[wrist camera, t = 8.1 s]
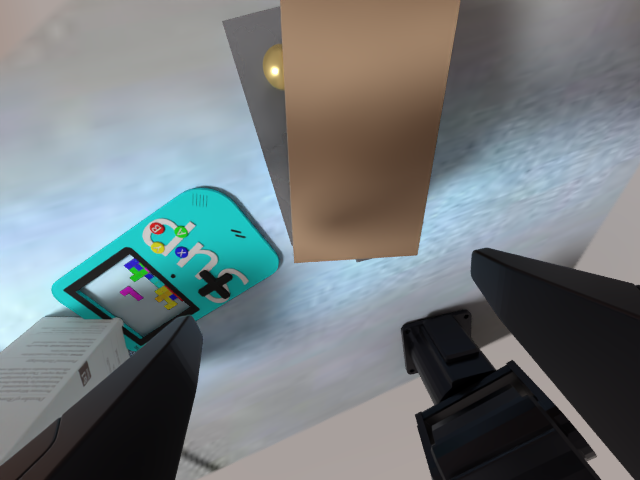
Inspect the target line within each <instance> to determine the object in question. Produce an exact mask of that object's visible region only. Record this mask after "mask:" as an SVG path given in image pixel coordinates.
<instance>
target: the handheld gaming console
mask: <svg viewBox="0 0 640 480" xmlns="http://www.w3.org/2000/svg"><path fill="white" fill-rule="evenodd" d="M129 254H130V255H131V256H133V257H134V259H132V260H131V261H129V262H128V263H127V264H125V265H124V266H125V267H126V268H127V269H128V270H129V271H130V272H132V273H133V274H134V275H133V276H131V277H130V279H131V280H133V281H134V282H136V281H137V280H139V279H140V278H142V277H143V276H145V277H146V278H147V279H148V280H149V281H151V282H152V283H153V284H154V285H155V286H156V287H158V288H159V289H158V290H156V291H155V293H156V294H158V295H159V296H158V297H156V298H155V300H157V301H158V302H161V301H162V300H165V301H166V302H167V303H168V304H166V305H165V306H164V307H165V308H166V309H168V310H169V309H171V308H173V307H174V306H176V305H177V303H176V302H175V301H174V300H175V299H176V298H179V299H180V300H181V301H184V302H185V303H186V304H188V305H189V306H190V308H188V309H187V310H185V311H183V312H182V313H180V314H179V315H177V316H176V317H174V318H173V319H171V320H170V321H168V322H166V323H165V324H163V325H162V326H160V327H159V328H157V329H156V330H154V331H153V332H151V333H149V334H148V335H146V336H145V337H142V336H141V335H139V334H138V333H137V332H135V331H134V330H133V329H131V328H130V327H129V326H127V325H126V324H124V326H122V330H123V335H124V339H125V344H126V348H127V349H128V350H131V351H135V352H137V351H138V350H139V349H140V348H141V347H143V346H144V345H145V344H146V343H147V342H149V341H150V340H151V339H152V338H153V337H154V336H156V335H157V334H158V333H159V332H160V331H162V330H163V329H164V328H165V327H166V326H167V325H169V324H170V323H171V322H172V321H173V320H175V319H176V318H177V317H181V316H186V315H191V316H192V317H193V318H194V319H195V321H197V320H198V319H200V318H202V317H203V316H205V315H207V314H208V313H210V312H211V311H213V310H215V309H216V308H218V307H220V306H221V305H223V304H225V303H226V302H228V301H230V300H231V299H233V298H234V297H236V296H238V295H239V294H241V293H243V292H244V291H246V290H248V289H249V288H251V287H252V286H254V285H256V284H257V283H259V282H261V281H262V280H264V279H266V278H267V277H269V276H270V275H272V274H273V273H275V271H276V270H277V268H278V265H279V258H278V255H277V253H276V252H275V251H274V249H273V248H272V247H271V246H270V245H269V243H268V242H267V241H266V240H265V239H264V237H263V236H262V235H261V234H260V233H259V231H258V230H257V229H256V228H255V226H254V225H253V224H252V223H251V222H250V220H249V219H248V218H247V217H246V216H245V214H244V213H243V212H242V211H241V210H240V208H239V207H238V206H237V205H236V204H235V202H234V201H233V200H232V199H230V198H229V197H228V196H226V195H225V194H223V193H221V192H219V191H216V190H214V189H209V188H193V189H190V190H187V191H184V192H183V193H181V194H179V195H178V196H177V197H175V198H174V199H172V200H171V201H169V202H168V203H167V204H165V205H164V206H162V207H161V208H160V209H158V210H157V211H155V212H154V213H152V214H151V215H150V216H148V217H147V218H145V219H144V220H142V221H141V222H140V223H138V224H137V225H135V226H134V227H132V228H131V229H130V230H128V231H127V232H125V233H124V234H122V235H121V236H120V237H118V238H117V239H115V240H114V241H112V242H111V243H110V244H108V245H107V246H105V247H104V248H102V249H101V250H100V251H98V252H97V253H95V254H94V255H92V256H91V257H90V258H88V259H87V260H85V261H84V262H83V263H81V264H80V265H78V266H77V267H75V268H74V269H73V270H71V271H70V272H68V273H67V274H65V275H64V276H63V277H61V278H60V279H58V280H57V281H56V282H55V283H54V284H53V285H52V289H51V290H52V294H53V296H54V297H55V298H56V299H57V300H58V301H59V302H60V303H62V304H63V305H65V306H66V307H68V308H69V309H70V310H72V311H73V312H75V313H76V314H78V315H79V316H80V317H82V318H83V319H112V318H116V317H115V316H114V315H112V314H111V313H110V312H108V311H107V310H105V309H104V308H103V307H101V306H100V305H99V304H97V303H96V302H95V301H93V300H92V299H90V298H89V297H88V296H86V295H85V294H84V293H82V292H81V291H80V290H79V289H81V288H82V287H83V286H85V285H86V284H88V283H89V282H91V281H92V280H93V279H95V278H96V277H98V276H99V275H100V274H102V273H103V272H105V271H106V270H108V269H109V268H110V267H112V266H113V265H115V264H116V263H117V262H119V261H120V260H122V259H123V258H125V257H126V256H127V255H129ZM150 272H151V273H152V274H153V275H154V276H155V277H154V276H153V275H152V274H151V273H150ZM120 293H121V294H122V295H124V296H126V295H127V294H130V295H132V296H133V297H134V298H135V299H137V300H138V301H140V300H141V299H143V297H142V296H141V295H139V294H138V293H137V292H136V291H134V290H133V289H132V288H131V287H130V286H128V287H126V288H125V289H123V290H122V291H120Z"/></svg>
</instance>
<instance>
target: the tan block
mask: <svg viewBox="0 0 640 480" xmlns="http://www.w3.org/2000/svg"><path fill="white" fill-rule="evenodd" d="M460 1H461V0H280V8H281V31H282V50H283V69H284V87H285V106H286V125H287V144H288V162H289V181H290V200H291V219H292V236H293V251H294V263H303V262H319V261H335V260H350V259H366V258H382V257H397V256H413V255H417V254H418V248H419V242H420V236H421V230H422V224H423V219H424V213H425V207H426V201H427V195H428V189H429V183H430V177H431V172H432V166H433V160H434V154H435V148H436V142H437V136H438V130H439V124H440V119H441V113H442V107H443V101H444V95H445V89H446V83H447V77H448V72H449V66H450V60H451V54H452V48H453V42H454V36H455V30H456V24H457V19H458V13H459V7H460Z"/></svg>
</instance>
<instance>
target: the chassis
mask: <svg viewBox="0 0 640 480" xmlns="http://www.w3.org/2000/svg"><path fill="white" fill-rule="evenodd" d="M222 22H223V26H224V29H225V32H226V35H227V39H228V42H229V45H230V48H231V51H232V55H233V58H234V61H235V64H236V68H237V71H238V74H239V77H240V80H241V84H242V87H243V90H244V93H245V97H246V100H247V103H248V106H249V109H250V113H251V116H252V119H253V122H254V126H255V129H256V132H257V135H258V138H259V142H260V145H261V148H262V151H263V155H264V158H265V161H266V164H267V167H268V171H269V174H270V177H271V180H272V184H273V187H274V190H275V193H276V196H277V200H278V203H279V206H280V209H281V213H282V216H283V219H284V222H285V225H286V229H287V232H288V235H289V238H290V242H291V245H292V246H293V236H292V219H291V200H290V181H289V162H288V144H287V125H286V106H285V87H284V69H283V50H282V31H281V8H280V7H276V8H272V9H268V10H264V11H260V12H256V13H252V14H248V15H245V16H241V17H237V18H233V19H229V20H225V21H222ZM368 259H372V258H366V259H355V260H356V262H360V261H364V260H368Z"/></svg>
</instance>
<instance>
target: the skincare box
mask: <svg viewBox="0 0 640 480" xmlns="http://www.w3.org/2000/svg"><path fill="white" fill-rule="evenodd" d="M122 326H124V323H123V320H122V319H121V318H112V319H83V318H82V317H43V318H41V319H40V320H39V321H38V322H37V323H35V324H34V325H33V326H32V327H31V328H29V329H28V330H27V331H26V332H25V333H23V334H22V335H21V336H20V337H19V338H17V339H16V340H15V341H14V342H12V343H11V344H10V345H9V346H8V347H6V348H5V349H4V350H3V351H2V352H0V466H1V465H2V464H3V463H4V462H6V461H7V460H8V459H9V458H11V457H12V456H13V455H14V454H16V453H17V452H18V451H19V450H20V449H22V448H23V447H24V446H25V445H26V444H28V443H29V442H30V441H31V440H33V439H34V438H35V437H36V436H37V435H39V434H40V433H41V432H42V431H43V430H45V429H46V428H47V427H48V426H49V425H50V424H52V423H53V422H54V421H55V420H56V419H57V418H59V417H62V414H64V413H65V412H66V411H67V410H68V409H69V408H71V407H72V406H73V405H74V404H75V403H76V402H78V401H79V400H80V399H81V398H82V397H84V396H85V395H86V394H87V393H88V392H89V391H91V390H92V389H93V388H94V387H95V386H97V385H98V384H99V383H100V382H101V381H102V380H104V379H105V378H106V377H107V376H108V375H110V374H111V373H112V372H113V371H114V370H115V369H117V368H118V367H119V366H120V365H121V364H123V363H124V362H125V361H126V360H127V359H128V358H130V355H129V351H128V349H127V348H126V344H125V339H124V335H123V330H122Z"/></svg>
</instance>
